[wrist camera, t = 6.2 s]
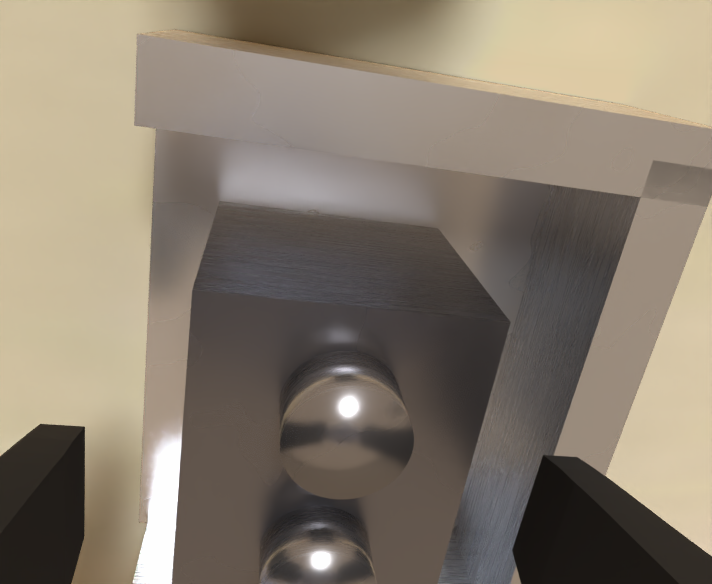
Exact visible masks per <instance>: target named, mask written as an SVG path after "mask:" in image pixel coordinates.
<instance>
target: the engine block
mask: <svg viewBox="0 0 712 584" xmlns="http://www.w3.org/2000/svg"><path fill="white" fill-rule="evenodd" d="M510 323H511V322H510V321H509V319H508V318H507V317H506V315H505V314H504V313H503V311H502V310H501V309H500V308H499V306H498V305H497V304H496V302H495V301H494V300H493V299H492V297H491V296H490V295H489V293H488V292H487V291H486V289H485V288H484V287H483V286H482V284H481V283H480V282H479V280H478V279H477V278H476V277H475V275H474V274H473V273H472V271H471V270H470V269H469V267H468V266H467V265H466V264H465V262H464V261H463V260H462V258H461V257H460V256H459V255H458V253H457V252H456V251H455V249H454V248H453V247H452V245H451V244H450V243H449V242H448V240H447V239H446V238H445V236H444V235H443V234H442V232H441V231H440V230H439V229H438V228H431V227H424V226H416V225H408V224H400V223H392V222H384V221H376V220H368V219H360V218H352V217H344V216H336V215H328V214H320V213H312V212H304V211H296V210H288V209H280V208H272V207H264V206H256V205H248V204H240V203H232V202H224V201H219V204H218V207H217V211H216V214H215V217H214V220H213V224H212V227H211V230H210V233H209V237H208V240H207V243H206V246H205V250H204V253H203V256H202V259H201V263H200V266H199V269H198V272H197V276H196V279H195V282H194V286H193V289H192V299H191V314H190V328H189V342H188V356H187V370H186V385H185V399H184V413H183V427H182V441H181V456H180V470H179V484H178V498H177V512H176V527H175V541H174V555H173V569H172V583H171V584H438V580H439V577H440V573H441V570H442V566H443V563H444V559H445V555H446V552H447V548H448V545H449V541H450V538H451V534H452V530H453V527H454V523H455V520H456V516H457V513H458V509H459V505H460V502H461V498H462V495H463V491H464V488H465V484H466V480H467V477H468V473H469V470H470V466H471V463H472V459H473V455H474V452H475V448H476V445H477V441H478V438H479V434H480V430H481V427H482V423H483V420H484V416H485V413H486V409H487V405H488V402H489V398H490V395H491V391H492V388H493V384H494V380H495V377H496V373H497V370H498V366H499V363H500V359H501V355H502V352H503V348H504V345H505V341H506V338H507V334H508V330H509V327H510Z"/></svg>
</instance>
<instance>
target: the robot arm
mask: <svg viewBox="0 0 712 584" xmlns="http://www.w3.org/2000/svg"><path fill="white" fill-rule="evenodd" d="M84 494H85V427H80V426H64V425H48V424H40V425H39V426H37V427H36V428H35V429H33V430H32V431H31V432H29V433H28V434H27V435H26V436H24V437H23V438H22V439H21V440H19V441H18V442H17V443H16V444H15V445H13V446H12V447H11V448H10V449H9V450H7V451H6V452H5V453H4V454H3V455H1V456H0V584H71V582H72V579H73V575H74V572H75V568H76V564H77V561H78V557H79V554H80V550H81V546H82V543H83V539H84ZM512 552H513V556H514V559H515V563H516V567H517V571H518V574H519V578H520V582H521V584H712V556H710V555H709V554H708V553H706V552H705V551H704V550H702V549H701V548H700V547H698V546H697V545H696V544H694V543H693V542H691V541H690V540H689V539H687V538H686V537H685V536H683V535H682V534H681V533H680V532H678V531H677V530H676V529H674V528H673V527H672V526H670V525H669V524H668V523H666V522H665V521H664V520H662V519H661V518H660V517H658V516H657V515H656V514H655V513H653V512H652V511H651V510H649V509H648V508H647V507H645V506H644V505H643V504H641V503H640V502H639V501H638V500H636V499H635V498H634V497H632V496H631V495H630V494H628V493H627V492H626V491H624V490H623V489H622V488H620V487H619V486H618V485H616V484H615V483H614V482H612V481H611V480H610V479H608V478H607V477H606V476H604V475H603V474H602V473H600V472H599V471H597V470H596V469H595V468H593V467H592V466H590V465H589V464H587V463H586V462H584V461H583V460H581V459H580V458H578V457H569V456H552V455H543V457H542V460H541V463H540V466H539V469H538V472H537V475H536V478H535V481H534V484H533V488H532V491H531V494H530V497H529V500H528V503H527V506H526V509H525V512H524V515H523V518H522V521H521V524H520V527H519V530H518V533H517V536H516V539H515V542H514V546H513V549H512Z"/></svg>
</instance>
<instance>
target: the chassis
mask: <svg viewBox="0 0 712 584" xmlns="http://www.w3.org/2000/svg"><path fill="white" fill-rule="evenodd" d="M134 126H142V127H149V128H156V139H155V162H154V185H153V209H152V232H151V255H150V279H149V302H148V325H147V348H146V372H145V395H144V418H143V442H142V465H141V488H140V511H139V523H147V527H146V531H145V535H144V539H143V543H142V547H141V551H140V555H139V559H138V563H137V567H136V571H135V575H134V579H133V583H132V584H171V583H172V569H173V555H174V541H175V527H176V512H177V498H178V484H179V470H180V456H181V441H182V427H183V413H184V399H185V385H186V370H187V356H188V342H189V328H190V314H191V299H192V289H193V286H194V282H195V279H196V276H197V272H198V269H199V266H200V263H201V259H202V256H203V253H204V250H205V246H206V243H207V240H208V237H209V233H210V230H211V227H212V224H213V220H214V217H215V214H216V211H217V207H218V204H219V201H224V202H232V203H240V204H248V205H256V206H264V207H272V208H280V209H288V210H296V211H304V212H312V213H320V214H328V215H336V216H344V217H352V218H360V219H368V220H376V221H384V222H392V223H400V224H408V225H416V226H424V227H431V228H438V229H439V230H440V231H441V232H442V234H443V235H444V236H445V238H446V239H447V240H448V242H449V243H450V244H451V245H452V247H453V248H454V249H455V251H456V252H457V253H458V255H459V256H460V257H461V258H462V260H463V261H464V262H465V264H466V265H467V266H468V267H469V269H470V270H471V271H472V273H473V274H474V275H475V277H476V278H477V279H478V280H479V282H480V283H481V284H482V286H483V287H484V288H485V289H486V291H487V292H488V293H489V295H490V296H491V297H492V299H493V300H494V301H495V302H496V304H497V305H498V306H499V308H500V309H501V310H502V311H503V313H504V314H505V315H506V317H507V318H508V319H509V321H510V322H511V323H510V327H509V330H508V334H507V338H506V341H505V345H504V348H503V352H502V355H501V359H500V363H499V366H498V370H497V373H496V377H495V380H494V384H493V388H492V391H491V395H490V398H489V402H488V405H487V409H486V413H485V416H484V420H483V423H482V427H481V430H480V434H479V438H478V441H477V445H476V448H475V452H474V455H473V459H472V463H471V466H470V470H469V473H468V477H467V480H466V484H465V488H464V491H463V495H462V498H461V502H460V505H459V509H458V513H457V516H456V520H455V523H454V527H453V530H452V534H451V538H450V541H449V545H448V548H447V552H446V555H445V559H444V563H443V566H442V570H441V573H440V577H439V580H438V584H521V582H520V578H519V574H518V571H517V567H516V563H515V559H514V556H513V552H512V549H513V546H514V542H515V539H516V536H517V533H518V530H519V527H520V524H521V521H522V518H523V515H524V512H525V509H526V506H527V503H528V500H529V497H530V494H531V491H532V488H533V484H534V481H535V478H536V475H537V472H538V469H539V466H540V463H541V460H542V457H543V455H552V456H569V457H578V458H580V459H581V460H583V461H584V462H586V463H587V464H589V465H590V466H592V467H593V468H595V469H596V470H597V471H599V472H600V473H602V474H603V475H604V476H605V475H606V472H607V469H608V467H609V464H610V462H611V459H612V456H613V454H614V451H615V448H616V446H617V443H618V440H619V438H620V435H621V433H622V430H623V427H624V425H625V422H626V419H627V417H628V414H629V412H630V409H631V406H632V404H633V401H634V398H635V396H636V393H637V390H638V388H639V385H640V383H641V380H642V377H643V375H644V372H645V369H646V367H647V364H648V361H649V359H650V356H651V354H652V351H653V348H654V346H655V343H656V340H657V338H658V335H659V333H660V330H661V327H662V325H663V322H664V319H665V317H666V314H667V311H668V309H669V306H670V304H671V301H672V298H673V296H674V293H675V290H676V288H677V285H678V282H679V280H680V277H681V275H682V272H683V269H684V267H685V264H686V261H687V259H688V256H689V254H690V251H691V248H692V246H693V243H694V240H695V238H696V235H697V232H698V230H699V227H700V225H701V222H702V219H703V217H704V214H705V211H706V209H707V206H708V203H709V201H710V198H711V196H712V127H711V126H707V125H703V124H699V123H695V122H691V121H687V120H683V119H679V118H675V117H671V116H667V115H663V114H659V113H655V112H651V111H647V110H643V109H639V108H635V107H631V106H627V105H622V104H616V103H610V102H604V101H598V100H592V99H586V98H580V97H574V96H568V95H562V94H557V93H551V92H545V91H539V90H533V89H527V88H521V87H515V86H509V85H503V84H497V83H491V82H485V81H479V80H473V79H467V78H461V77H455V76H449V75H443V74H438V73H432V72H426V71H420V70H414V69H408V68H402V67H396V66H390V65H384V64H378V63H372V62H366V61H360V60H354V59H348V58H342V57H336V56H330V55H324V54H318V53H313V52H307V51H301V50H295V49H289V48H283V47H277V46H271V45H265V44H259V43H253V42H247V41H241V40H235V39H229V38H223V37H217V36H211V35H205V34H199V33H193V32H188V31H182V30H176V29H175V30H166V31H157V32H149V33H140V34H137V56H136V89H135V122H134Z"/></svg>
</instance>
